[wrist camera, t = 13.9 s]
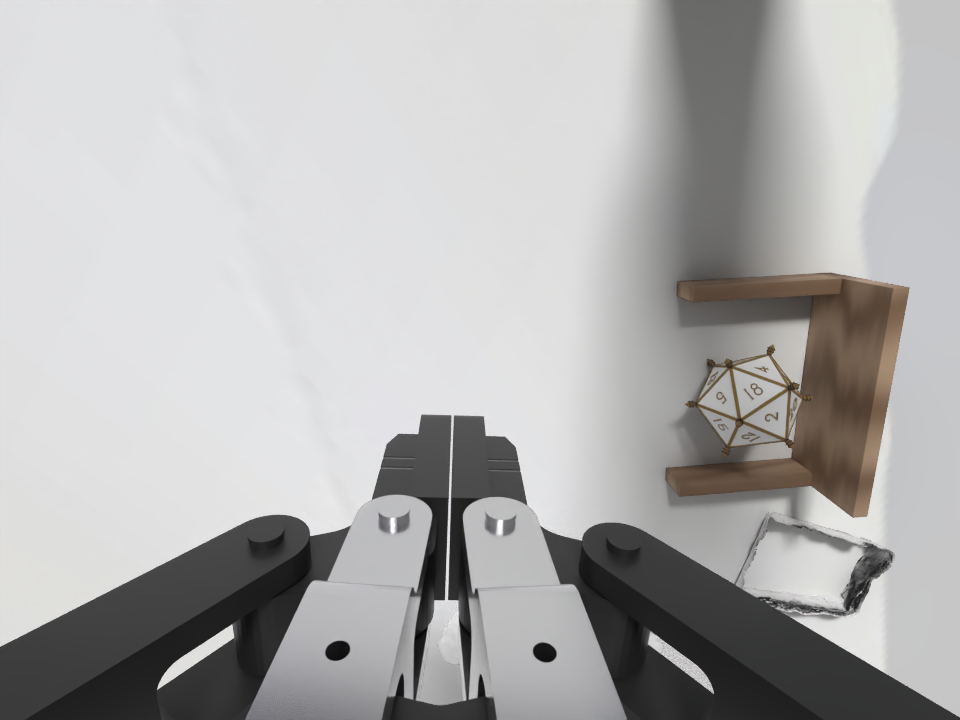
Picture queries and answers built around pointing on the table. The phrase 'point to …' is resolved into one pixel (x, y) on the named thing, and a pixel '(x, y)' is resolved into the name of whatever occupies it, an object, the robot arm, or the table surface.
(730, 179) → the table surface
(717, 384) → the game die
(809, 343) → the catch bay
